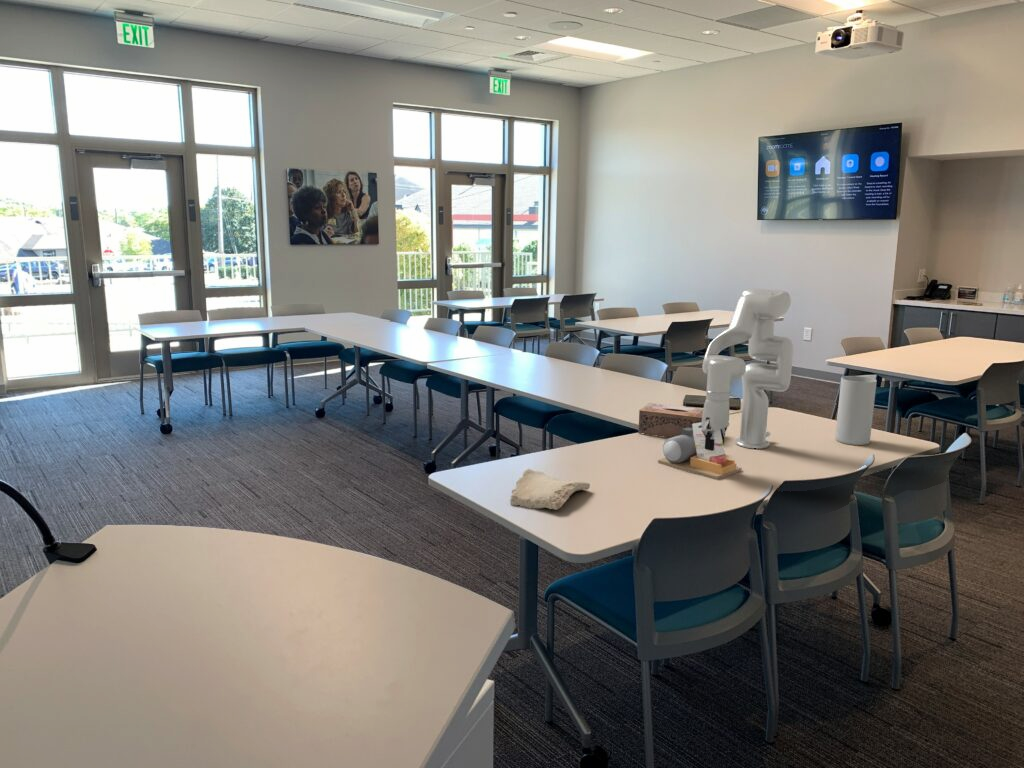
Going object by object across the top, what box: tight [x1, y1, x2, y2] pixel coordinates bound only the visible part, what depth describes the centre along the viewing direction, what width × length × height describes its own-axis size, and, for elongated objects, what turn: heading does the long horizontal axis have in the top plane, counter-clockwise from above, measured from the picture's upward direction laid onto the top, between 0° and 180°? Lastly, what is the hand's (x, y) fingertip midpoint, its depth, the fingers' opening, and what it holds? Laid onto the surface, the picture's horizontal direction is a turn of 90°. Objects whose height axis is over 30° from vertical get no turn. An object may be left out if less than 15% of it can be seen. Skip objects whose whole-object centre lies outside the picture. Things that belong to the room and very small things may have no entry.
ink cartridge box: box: [692, 422, 727, 464], centre depth 258 cm, size 9×5×15 cm, turn 37°
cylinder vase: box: [834, 375, 877, 446], centre depth 294 cm, size 12×12×25 cm
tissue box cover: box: [637, 402, 703, 438], centre depth 304 cm, size 26×14×10 cm, turn 64°
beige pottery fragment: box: [509, 468, 591, 510], centre depth 231 cm, size 24×8×20 cm
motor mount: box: [657, 427, 743, 480], centre depth 261 cm, size 15×24×12 cm, turn 42°
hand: (714, 447), depth 257 cm, fingers closed on ink cartridge box, 5 cm apart
